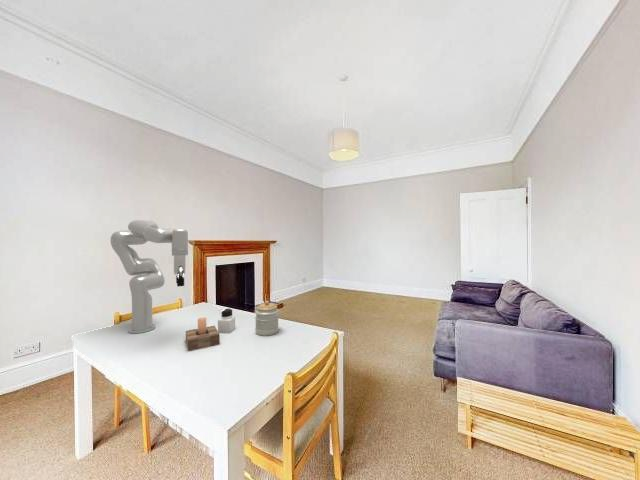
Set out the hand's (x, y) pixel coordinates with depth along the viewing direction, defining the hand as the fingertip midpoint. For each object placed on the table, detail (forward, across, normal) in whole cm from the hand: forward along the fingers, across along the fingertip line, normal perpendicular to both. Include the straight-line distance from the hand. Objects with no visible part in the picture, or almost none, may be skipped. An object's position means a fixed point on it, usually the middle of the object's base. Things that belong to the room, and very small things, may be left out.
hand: (180, 284), depth 132 cm
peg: (+28, +13, +9) cm, 32 cm away
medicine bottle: (+28, +3, +23) cm, 37 cm away
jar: (+28, +17, +42) cm, 54 cm away
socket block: (+28, +13, +9) cm, 32 cm away
